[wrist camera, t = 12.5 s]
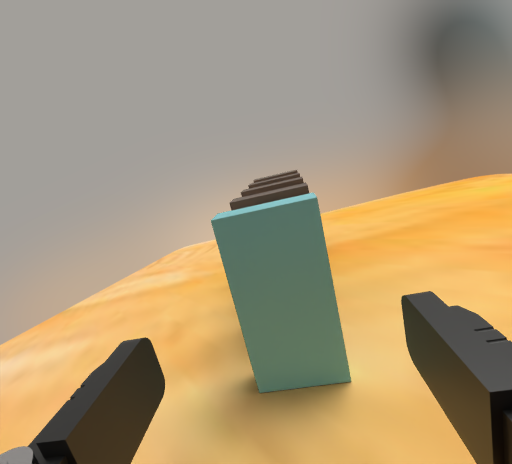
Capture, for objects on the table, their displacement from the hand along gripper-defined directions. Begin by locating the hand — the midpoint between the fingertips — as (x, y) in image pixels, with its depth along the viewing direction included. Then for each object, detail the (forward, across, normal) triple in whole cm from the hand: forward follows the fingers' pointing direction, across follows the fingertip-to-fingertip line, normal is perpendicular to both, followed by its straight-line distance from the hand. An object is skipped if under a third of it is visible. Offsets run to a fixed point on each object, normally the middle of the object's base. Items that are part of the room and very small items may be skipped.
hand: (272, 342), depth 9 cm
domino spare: (+6, 0, +7) cm, 9 cm away
